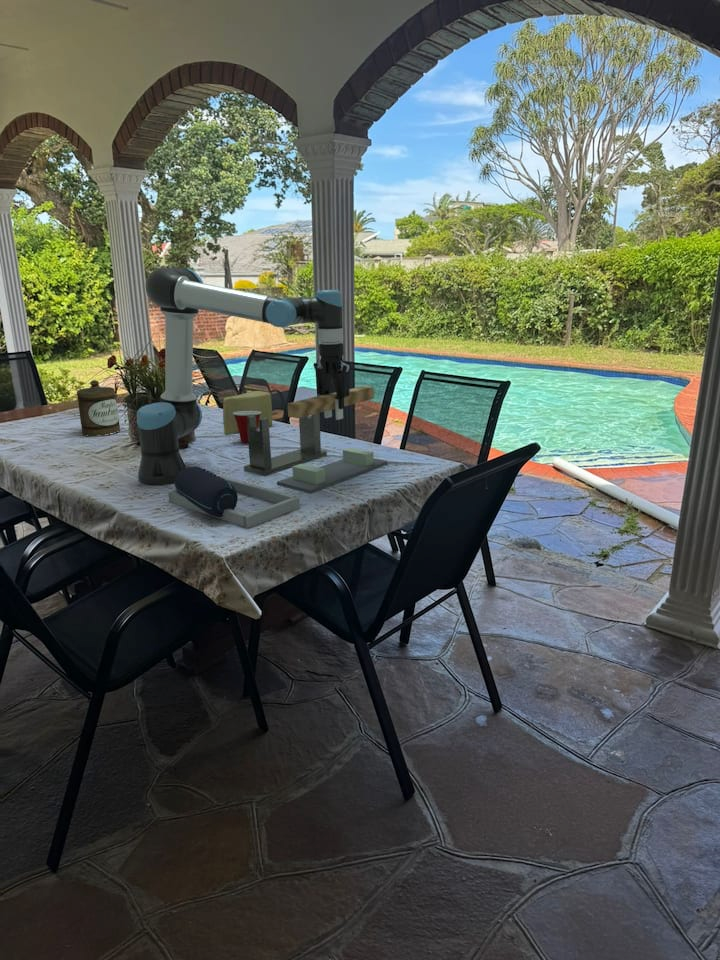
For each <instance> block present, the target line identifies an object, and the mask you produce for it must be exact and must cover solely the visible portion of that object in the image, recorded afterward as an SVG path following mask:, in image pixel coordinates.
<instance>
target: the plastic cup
mask: <svg viewBox="0 0 720 960" xmlns="http://www.w3.org/2000/svg"><path fill="white" fill-rule="evenodd" d="M260 414H261V412H260V411H239V412H234V413H233V415H234V416H235V419H236V423H237V427H238V431H239V432H238V435H239V437H240V441H241V443H242V444H245V443H248V431H247V417H249V416H256V424H257V428H258V424H259V417H260Z"/></svg>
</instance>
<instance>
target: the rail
mask: <svg viewBox="0 0 720 960" xmlns="http://www.w3.org/2000/svg"><path fill="white" fill-rule="evenodd" d="M374 391H375V387H374V386H369V385H362V386H358V387H354V388H353V387H352V388H349V396H348V397H345V398H344V407H348V406H351V405H355V404H360V403H363V402H367V401H370V400H374V399H375V392H374ZM336 398H337V394H336V391H335V392H332V393H329V394H326V395H322V396H321V395H318V396H314V397H309V398H305V399H300V400H297V401H293V402H288V403H287V418H293V419H299V418H301V417H305V416H311V415H313V414H317V413H324V412H325V411H329V410H332V411H333V410H335V399H336Z"/></svg>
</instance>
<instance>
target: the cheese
mask: <svg viewBox="0 0 720 960" xmlns="http://www.w3.org/2000/svg"><path fill="white" fill-rule="evenodd" d="M272 405H273V404H272V394H271V392H269V391H262V390H255V391H252V392H246V393H241V394H238V395H237V394H236V395H232V396H227V397H224V398H223V400H222V421H223V423H222V424H223V431H224V432H223V433H224V435H232V434H231V433H233V434H237V433H236V432H238V433H239V431H238V427H237V423H236V419H235V416H234V415H233V413H234V412H239V411H260V412H261V414H260V417H259V419H263V418H269V428H270V427H272V426H273V408H272V407H273V406H272ZM258 428H260V426H259V424H258Z"/></svg>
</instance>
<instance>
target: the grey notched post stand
mask: <svg viewBox="0 0 720 960" xmlns="http://www.w3.org/2000/svg"><path fill="white" fill-rule="evenodd" d="M320 415H321V414H320V413H317V414H313V415H309V416H305V417H301V418H298V424H299V447H300V448H299V449H296V450H293V451H290V452H289V451H288V452H285V453H283V454H280V455H279V454H278V455H277V456H272V453H271V452H272V451H271V437H270V427H269V418H263V419H259V426H260V428H257V424H256V416H249V417H247V431H248V444H247V445H248V456H249V457H248V458H249V464H246V465H244V466H243V471H245V472H249V473H253V474H257V475H261V476H264V477H265V476H268V475H272V474H275V473H277V472H278V473H279V472H281V471H283V470H286V469H290V468H293V466H296V465H299V464H305V463H308V462H311V461H313V459H314V460H316V458H317V459H320V458H319V457H321V458H323V457H322V456H324V457H326V456H325V455H327V456H328V454H327V451H326V450H322V448H321V447H322V445H321V444H322V443H321V442H322V441H321V420H320V419H321V416H320ZM310 460H311V461H310Z"/></svg>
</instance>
